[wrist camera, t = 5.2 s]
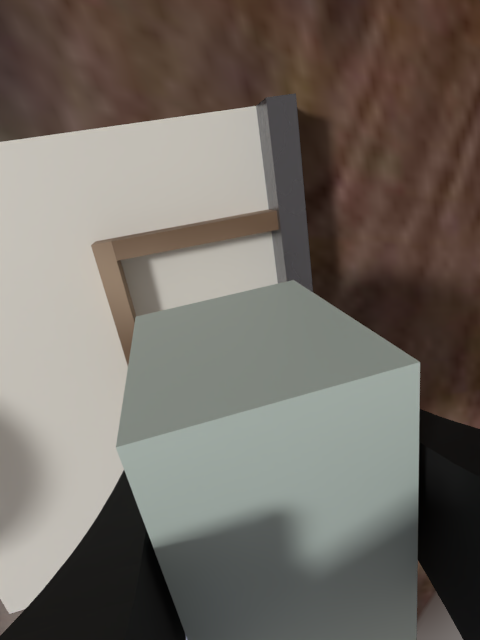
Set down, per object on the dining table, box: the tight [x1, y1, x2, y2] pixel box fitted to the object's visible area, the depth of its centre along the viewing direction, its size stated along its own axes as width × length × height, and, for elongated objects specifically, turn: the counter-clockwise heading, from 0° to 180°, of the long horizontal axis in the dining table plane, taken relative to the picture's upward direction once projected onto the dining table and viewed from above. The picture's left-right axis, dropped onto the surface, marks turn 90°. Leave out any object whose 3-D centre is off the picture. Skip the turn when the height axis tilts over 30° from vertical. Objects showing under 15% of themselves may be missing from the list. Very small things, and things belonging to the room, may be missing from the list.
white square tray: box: [0, 94, 313, 614], centre depth 18 cm, size 24×20×2 cm
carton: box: [116, 280, 420, 640], centre depth 10 cm, size 5×8×6 cm, turn 10°
